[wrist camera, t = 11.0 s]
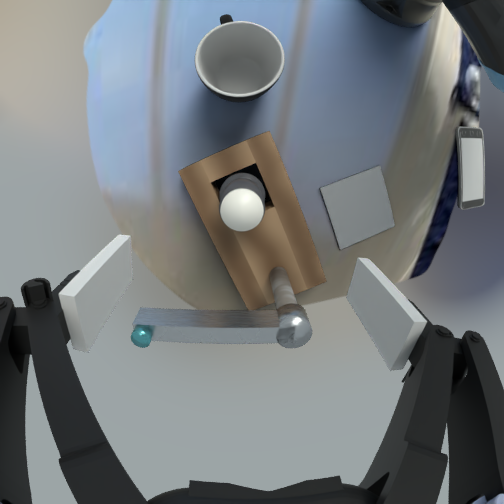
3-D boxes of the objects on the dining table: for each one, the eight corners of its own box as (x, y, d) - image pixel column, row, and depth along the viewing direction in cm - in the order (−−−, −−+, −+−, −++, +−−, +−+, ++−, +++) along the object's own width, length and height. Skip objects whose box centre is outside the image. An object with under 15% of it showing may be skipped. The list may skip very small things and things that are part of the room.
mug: (280, 100, 33) (295, 87, 24) (214, 115, 34) (205, 107, 25) (258, 25, 29) (264, -7, 19) (194, 40, 29) (180, 11, 20)
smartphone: (482, 128, 33) (484, 205, 39) (478, 127, 34) (480, 204, 40) (457, 126, 34) (460, 210, 40) (453, 126, 35) (457, 208, 41)
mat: (378, 165, 37) (380, 165, 37) (393, 225, 41) (394, 225, 40) (319, 188, 38) (320, 188, 38) (339, 248, 42) (340, 249, 42)
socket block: (266, 131, 35) (281, 127, 22) (319, 269, 43) (348, 321, 31) (184, 167, 36) (156, 183, 24) (248, 297, 45) (252, 357, 32)
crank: (308, 302, 29) (317, 327, 25) (304, 329, 30) (311, 355, 26) (139, 301, 28) (127, 324, 24) (145, 327, 29) (134, 352, 26)
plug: (252, 163, 37) (256, 172, 25) (268, 198, 38) (280, 224, 27) (215, 180, 37) (202, 197, 25) (233, 214, 39) (228, 247, 27)
